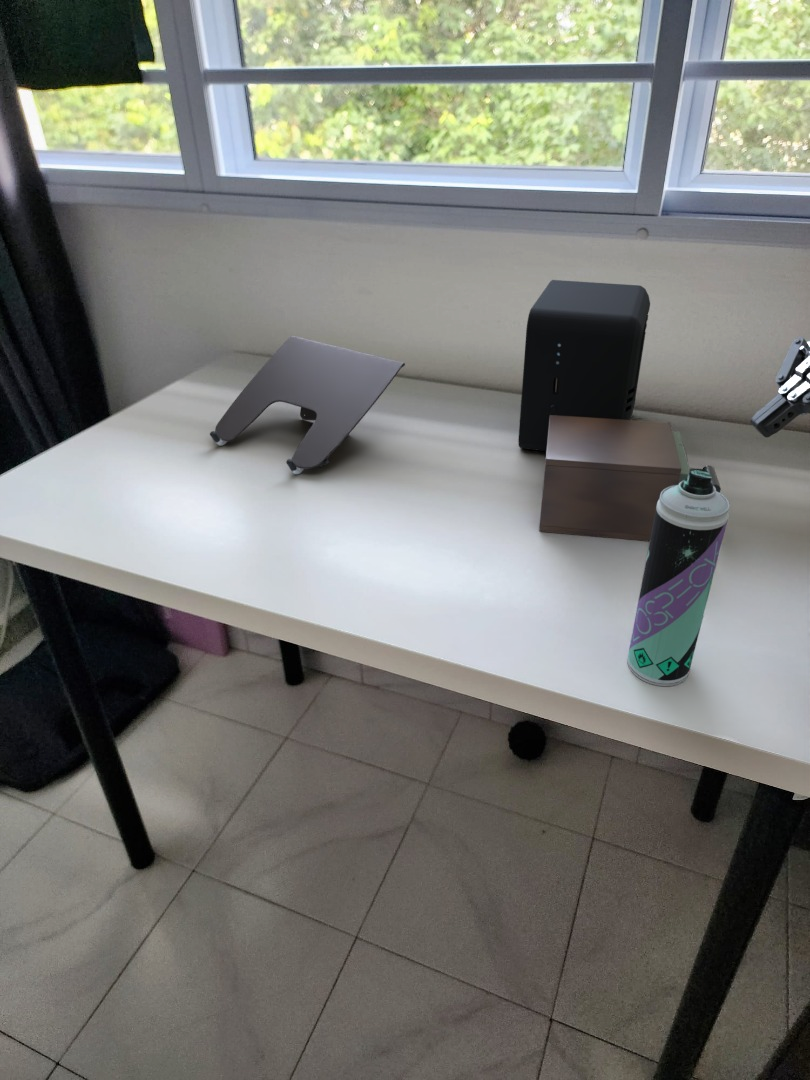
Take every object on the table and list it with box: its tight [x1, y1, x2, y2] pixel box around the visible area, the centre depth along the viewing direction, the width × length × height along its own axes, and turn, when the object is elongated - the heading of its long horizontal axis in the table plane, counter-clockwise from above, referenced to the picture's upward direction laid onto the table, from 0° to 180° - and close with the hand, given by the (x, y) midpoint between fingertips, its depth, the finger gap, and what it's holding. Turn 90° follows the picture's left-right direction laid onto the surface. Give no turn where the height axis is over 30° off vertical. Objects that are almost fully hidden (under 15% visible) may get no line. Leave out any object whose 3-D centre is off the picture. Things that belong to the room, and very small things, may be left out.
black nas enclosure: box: [517, 279, 651, 452], centre depth 107 cm, size 20×15×20 cm
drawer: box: [672, 430, 722, 494], centre depth 90 cm, size 18×11×8 cm, turn 79°
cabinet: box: [538, 415, 681, 542], centre depth 90 cm, size 15×13×10 cm
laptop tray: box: [209, 335, 406, 475], centre depth 112 cm, size 23×23×9 cm
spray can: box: [626, 468, 730, 687], centre depth 64 cm, size 6×6×20 cm
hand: (757, 429), depth 76 cm, fingers closed
